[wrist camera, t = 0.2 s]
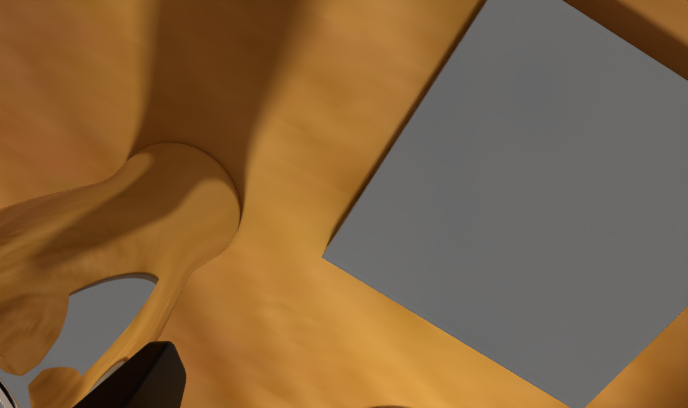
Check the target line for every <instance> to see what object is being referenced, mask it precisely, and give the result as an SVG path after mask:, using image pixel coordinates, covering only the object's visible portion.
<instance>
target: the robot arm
mask: <svg viewBox="0 0 688 408" xmlns="http://www.w3.org/2000/svg"><path fill="white" fill-rule="evenodd" d="M185 384H186V372H185V368H184V366H183V364H182V361H181V359H180V357H179V354H178V352H177V350H176V348H175V346H174V344H173V343H172V342H170V341H152V342H149V343H148V344H146V345H145V346H144V347H142V348H141V349H140V350H139V351H138V352H137V353H135V354H134V355H133V356H132V357H131V358H130V359H128V360H127V361H126V362H125V363H124V364H123V365H121V366H120V367H119V368H118V369H117V370H116V371H114V372H113V373H112V374H111V375H110V376H109V377H107V378H106V379H105V380H104V381H103V382H101V383H100V384H99V385H98V386H97V387H96V388H94V389H93V390H92V391H91V392H90V393H89V394H87V395H86V396H85V397H84V398H83V399H82V400H80V401H79V402H78V403H77V404H76V405H75V406H73V407H72V408H180V406H181V402H182V397H183V393H184V388H185Z"/></svg>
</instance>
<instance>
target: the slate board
mask: <svg viewBox="0 0 688 408" xmlns="http://www.w3.org/2000/svg"><path fill="white" fill-rule="evenodd" d="M322 258H324V259H325V260H327V261H329V262H330V263H332V264H334V265H335V266H337V267H339V268H340V269H342V270H344V271H345V272H347V273H349V274H350V275H352V276H354V277H355V278H357V279H358V280H360V281H362V282H363V283H365V284H367V285H368V286H370V287H372V288H373V289H375V290H377V291H378V292H380V293H382V294H383V295H385V296H387V297H388V298H390V299H392V300H393V301H395V302H397V303H398V304H400V305H402V306H403V307H405V308H407V309H408V310H410V311H412V312H413V313H415V314H417V315H418V316H420V317H422V318H423V319H425V320H427V321H428V322H430V323H431V324H433V325H435V326H436V327H438V328H440V329H441V330H443V331H445V332H446V333H448V334H450V335H451V336H453V337H455V338H456V339H458V340H460V341H461V342H463V343H465V344H466V345H468V346H470V347H471V348H473V349H475V350H476V351H478V352H480V353H481V354H483V355H485V356H486V357H488V358H490V359H491V360H493V361H495V362H496V363H498V364H499V365H501V366H503V367H504V368H506V369H508V370H509V371H511V372H513V373H514V374H516V375H518V376H519V377H521V378H523V379H524V380H526V381H528V382H529V383H531V384H533V385H534V386H536V387H538V388H539V389H541V390H543V391H544V392H546V393H548V394H549V395H551V396H553V397H554V398H556V399H558V400H559V401H561V402H563V403H564V404H566V405H568V406H569V407H571V408H585V407H586V406H587V405H588V404H589V403H590V402H591V401H592V400H593V399H594V398H595V397H596V396H597V395H598V394H599V393H600V392H601V391H602V390H603V389H604V388H605V387H606V386H607V385H608V384H609V383H610V382H611V381H612V380H613V379H614V378H615V377H616V376H617V375H618V374H619V373H620V372H621V371H622V370H623V369H624V368H625V367H626V366H627V365H628V364H629V363H630V362H631V361H632V360H633V359H634V358H636V357H637V356H638V355H639V354H640V353H641V352H642V351H643V350H644V349H645V348H646V347H647V346H648V345H649V344H650V343H651V342H652V341H653V340H654V339H655V338H656V337H657V336H658V335H659V334H660V333H661V332H662V331H663V330H664V329H665V328H666V327H667V326H668V325H669V324H670V323H671V322H672V321H673V320H674V319H675V318H676V317H677V316H678V315H679V314H680V313H681V312H682V311H683V310H684V309H685V308H686V307H687V306H688V81H687V80H686V79H684V78H682V77H681V76H679V75H678V74H676V73H675V72H673V71H672V70H670V69H668V68H667V67H665V66H664V65H662V64H661V63H659V62H658V61H656V60H654V59H653V58H651V57H650V56H648V55H647V54H645V53H644V52H642V51H640V50H639V49H637V48H636V47H634V46H633V45H631V44H630V43H628V42H626V41H625V40H623V39H622V38H620V37H619V36H617V35H616V34H614V33H612V32H611V31H609V30H608V29H606V28H605V27H603V26H602V25H600V24H598V23H597V22H595V21H594V20H592V19H591V18H589V17H588V16H586V15H584V14H583V13H581V12H580V11H578V10H577V9H575V8H574V7H572V6H570V5H569V4H567V3H566V2H564V1H563V0H485V2H484V3H483V5H482V6H481V8H480V9H479V11H478V13H477V14H476V16H475V17H474V19H473V20H472V22H471V23H470V25H469V27H468V28H467V30H466V31H465V33H464V34H463V36H462V37H461V39H460V41H459V42H458V44H457V45H456V47H455V48H454V50H453V51H452V53H451V54H450V56H449V58H448V59H447V61H446V62H445V64H444V65H443V67H442V68H441V70H440V72H439V73H438V75H437V76H436V78H435V79H434V81H433V82H432V84H431V86H430V87H429V89H428V90H427V92H426V93H425V95H424V96H423V98H422V100H421V101H420V103H419V104H418V106H417V107H416V109H415V110H414V112H413V113H412V115H411V117H410V118H409V120H408V121H407V123H406V124H405V126H404V127H403V129H402V131H401V132H400V134H399V135H398V137H397V138H396V140H395V141H394V143H393V145H392V146H391V148H390V149H389V151H388V152H387V154H386V155H385V157H384V158H383V160H382V162H381V163H380V165H379V166H378V168H377V169H376V171H375V172H374V174H373V176H372V177H371V179H370V180H369V182H368V183H367V185H366V186H365V188H364V190H363V191H362V193H361V194H360V196H359V197H358V199H357V200H356V202H355V203H354V205H353V207H352V208H351V210H350V211H349V213H348V214H347V216H346V217H345V219H344V221H343V222H342V224H341V225H340V227H339V228H338V230H337V231H336V233H335V235H334V236H333V238H332V239H331V241H330V242H329V244H328V245H327V247H326V249H325V251H324V253H323V255H322Z"/></svg>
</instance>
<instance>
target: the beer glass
mask: <svg viewBox="0 0 688 408" xmlns="http://www.w3.org/2000/svg"><path fill="white" fill-rule="evenodd" d="M239 221H240V203H239V198H238V194H237V191H236V189H235V186H234V184H233V182H232V180H231V178H230V177H229V175H228V174H227V172H226V171H225V170H224V169H223V167H222V166H221V165H220V164H219V163H218V162H217V161H216V160H214V159H213V158H212V157H211V156H209V155H208V154H206V153H205V152H203V151H201V150H199V149H197V148H195V147H192V146H189V145H186V144H181V143H159V144H154V145H151V146H148V147H146V148H144V149H142V150H140V151H139V152H137V153H136V154H134V155H133V156H132V157H131V158H130V159H129V160H128V161H127V162H126V163H125V164H124V165H123V166H122V167H121V168H120V169H119V170H118V171H117V172H116V173H115V174H114V175H113V176H111V177H110V178H108V179H106V180H104V181H101V182H98V183H94V184H91V185H87V186H82V187H78V188H74V189H69V190H65V191H61V192H57V193H53V194H49V195H45V196H41V197H37V198H33V199H30V200H27V201H23V202H20V203H17V204H14V205H11V206H8V207H4V208H1V209H0V408H72V407H73V406H75V405H76V404H77V403H78V402H79V401H80V400H82V399H83V398H84V397H85V396H86V395H87V394H89V393H90V392H91V391H92V390H93V389H94V388H96V387H97V386H98V385H99V384H100V383H101V382H103V381H104V380H105V379H106V378H107V377H109V376H110V375H111V374H112V373H113V372H114V371H116V370H117V369H118V368H119V367H120V366H121V365H123V364H124V363H125V362H126V361H127V360H128V359H130V358H131V357H132V356H133V355H134V354H135V353H137V352H138V351H139V350H140V349H141V348H142V347H144V346H145V345H146V344H148V343H149V342H152V341H157V340H158V339H159V337H160V335H161V333H162V331H163V329H164V327H165V325H166V323H167V321H168V319H169V317H170V315H171V313H172V311H173V309H174V307H175V305H176V303H177V301H178V299H179V296H180V294H181V292H182V290H183V288H184V286H185V284H186V282H187V281H188V279H189V277H190V276H191V275H192V273H193V272H194V271H195V270H197V269H198V268H199V267H201V266H203V265H204V264H206V263H208V262H209V261H211V260H212V259H214V258H215V257H217V256H218V255H220V254H221V253H222V252H223V251H224V250H225V249H226V248H227V247H228V246H229V244H230V243H231V242H232V240H233V238H234V237H235V234H236V232H237V229H238V226H239Z"/></svg>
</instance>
